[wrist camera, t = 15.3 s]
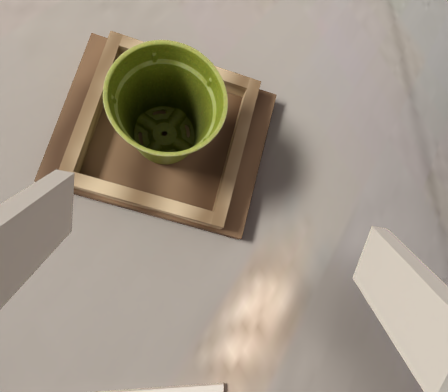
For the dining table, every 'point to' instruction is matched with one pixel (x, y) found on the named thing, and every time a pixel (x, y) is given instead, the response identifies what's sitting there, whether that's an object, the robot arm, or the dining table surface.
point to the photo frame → (179, 388)
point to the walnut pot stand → (153, 172)
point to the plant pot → (165, 99)
